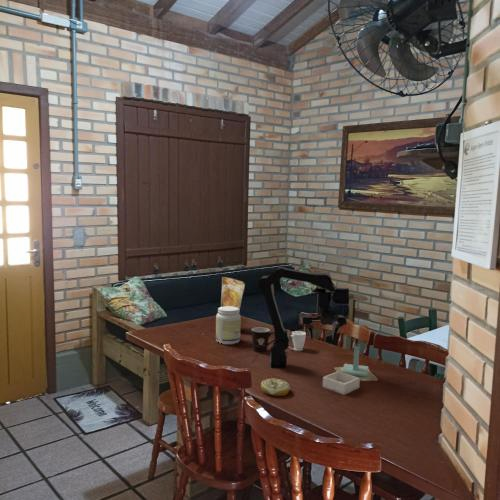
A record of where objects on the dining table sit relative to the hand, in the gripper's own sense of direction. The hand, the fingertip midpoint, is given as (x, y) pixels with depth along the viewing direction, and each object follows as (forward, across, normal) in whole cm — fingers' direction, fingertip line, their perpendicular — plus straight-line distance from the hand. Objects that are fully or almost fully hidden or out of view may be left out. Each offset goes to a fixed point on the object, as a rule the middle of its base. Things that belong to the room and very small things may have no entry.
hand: (322, 339), depth 204 cm
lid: (+12, +13, -6) cm, 19 cm away
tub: (+13, +3, -20) cm, 24 cm away
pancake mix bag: (+13, -36, +62) cm, 73 cm away
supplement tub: (+13, -38, +40) cm, 57 cm away
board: (+13, +13, -6) cm, 20 cm away
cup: (+13, -6, +27) cm, 31 cm away
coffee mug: (+13, -22, +25) cm, 36 cm away
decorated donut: (+13, -23, -23) cm, 35 cm away
